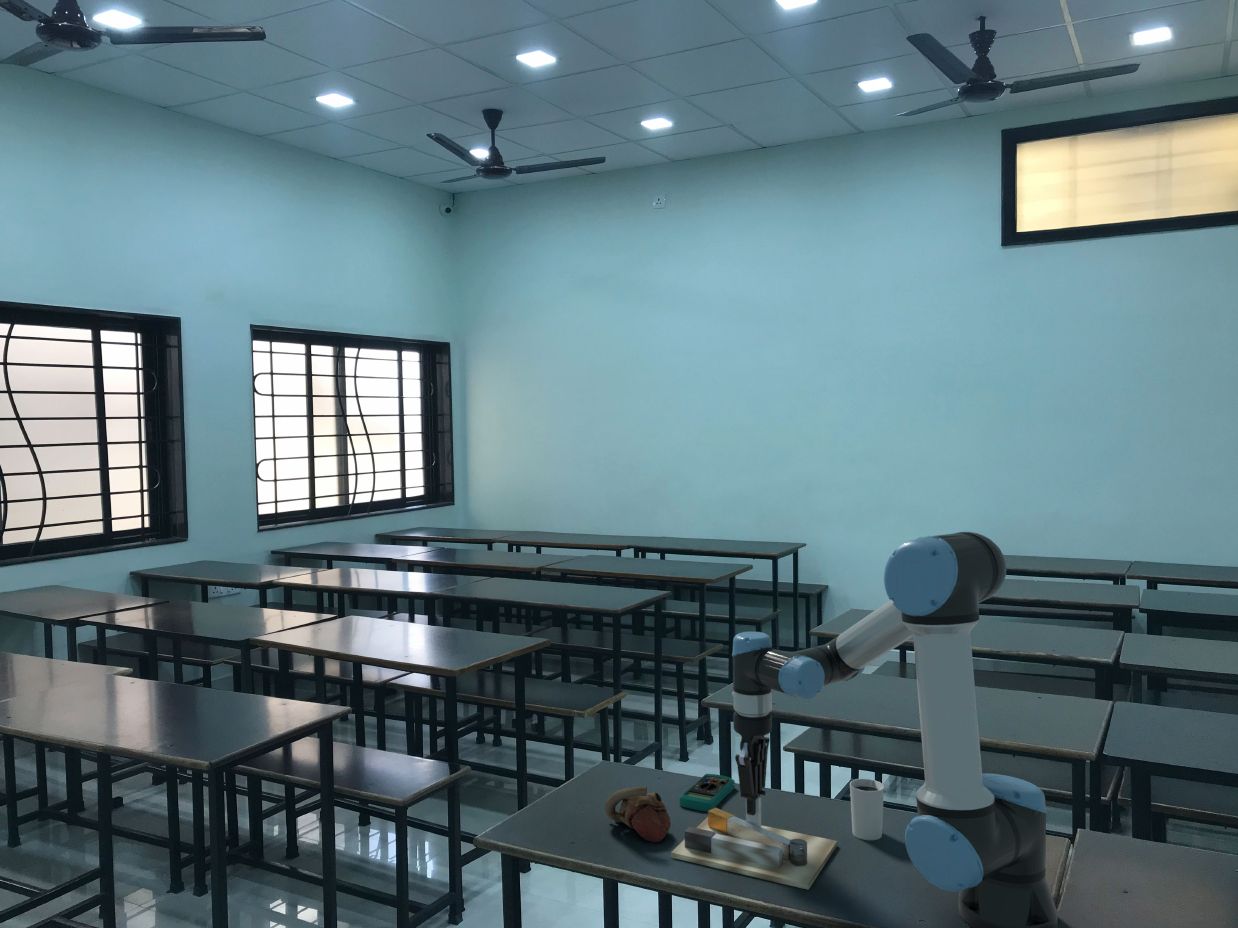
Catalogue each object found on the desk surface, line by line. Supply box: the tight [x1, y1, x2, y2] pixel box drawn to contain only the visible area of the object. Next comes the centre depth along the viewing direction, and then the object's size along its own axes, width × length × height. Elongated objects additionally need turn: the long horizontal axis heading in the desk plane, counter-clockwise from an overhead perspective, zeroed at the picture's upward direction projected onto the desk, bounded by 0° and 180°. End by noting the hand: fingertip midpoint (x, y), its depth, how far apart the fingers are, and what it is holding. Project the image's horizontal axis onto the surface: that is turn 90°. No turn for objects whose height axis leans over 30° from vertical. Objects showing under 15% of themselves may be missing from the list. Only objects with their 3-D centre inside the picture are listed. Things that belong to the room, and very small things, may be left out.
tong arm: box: [707, 807, 807, 866], centre depth 175 cm, size 24×3×4 cm, turn 41°
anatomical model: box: [604, 786, 672, 843], centre depth 183 cm, size 13×9×15 cm
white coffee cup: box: [849, 778, 885, 841], centre depth 181 cm, size 7×7×10 cm
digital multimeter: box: [679, 773, 736, 813], centre depth 201 cm, size 8×15×3 cm, turn 152°
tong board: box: [670, 816, 838, 890], centre depth 174 cm, size 27×19×4 cm
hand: (753, 827), depth 178 cm, fingers closed
